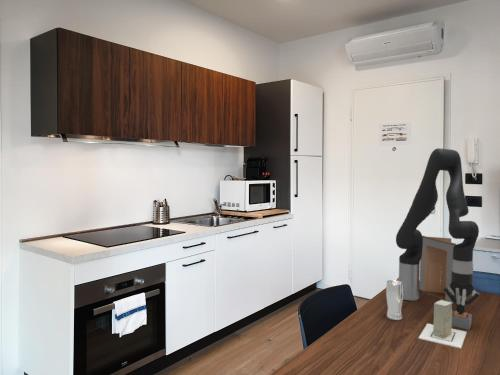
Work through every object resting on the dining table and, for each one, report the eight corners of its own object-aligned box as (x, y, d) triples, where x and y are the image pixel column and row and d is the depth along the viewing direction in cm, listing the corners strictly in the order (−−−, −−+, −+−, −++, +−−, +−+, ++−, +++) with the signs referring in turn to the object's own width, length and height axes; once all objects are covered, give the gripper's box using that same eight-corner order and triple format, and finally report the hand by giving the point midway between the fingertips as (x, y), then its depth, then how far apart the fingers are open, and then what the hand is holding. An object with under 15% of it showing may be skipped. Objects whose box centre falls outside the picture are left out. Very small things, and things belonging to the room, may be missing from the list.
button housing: (449, 325, 159) (449, 315, 159) (452, 320, 165) (452, 310, 165) (469, 329, 155) (469, 319, 155) (471, 324, 161) (471, 314, 161)
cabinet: (419, 290, 204) (420, 235, 202) (434, 288, 207) (436, 234, 205) (451, 303, 184) (453, 243, 182) (467, 301, 187) (469, 242, 185)
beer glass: (384, 318, 167) (384, 283, 166) (386, 313, 173) (387, 279, 172) (401, 321, 163) (402, 285, 162) (404, 315, 169) (404, 281, 169)
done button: (453, 320, 159) (454, 314, 159) (455, 316, 163) (455, 310, 163) (465, 322, 157) (466, 316, 157) (467, 319, 160) (467, 313, 160)
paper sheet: (418, 338, 147) (418, 337, 147) (427, 324, 161) (427, 323, 161) (461, 348, 140) (461, 347, 139) (466, 332, 153) (466, 331, 153)
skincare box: (444, 338, 147) (445, 306, 146) (432, 334, 150) (433, 303, 149) (451, 333, 151) (452, 302, 150) (439, 330, 154) (440, 299, 153)
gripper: (442, 270, 159) (441, 312, 160) (480, 275, 152) (478, 320, 153) (445, 266, 166) (444, 307, 167) (482, 271, 158) (480, 314, 159)
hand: (460, 313), depth 160 cm, fingers closed
